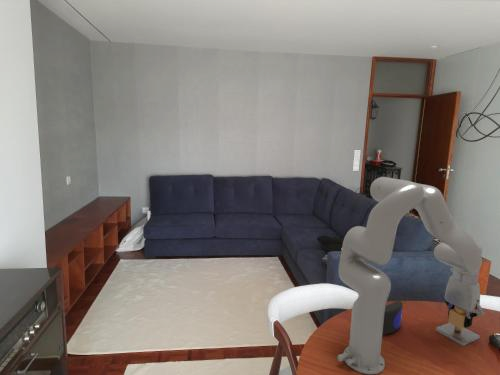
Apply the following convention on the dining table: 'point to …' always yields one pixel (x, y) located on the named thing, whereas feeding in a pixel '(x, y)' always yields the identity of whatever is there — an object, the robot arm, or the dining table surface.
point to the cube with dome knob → (457, 317)
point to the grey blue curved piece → (392, 317)
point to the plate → (457, 334)
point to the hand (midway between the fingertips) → (459, 322)
